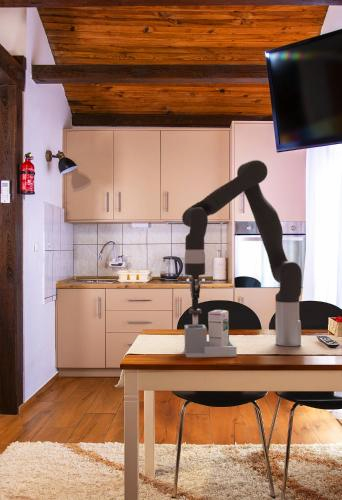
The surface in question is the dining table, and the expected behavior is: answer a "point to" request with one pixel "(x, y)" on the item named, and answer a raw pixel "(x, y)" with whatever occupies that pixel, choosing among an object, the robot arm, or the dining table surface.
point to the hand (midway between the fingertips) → (195, 308)
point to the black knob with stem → (195, 316)
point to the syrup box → (218, 328)
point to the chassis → (204, 344)
